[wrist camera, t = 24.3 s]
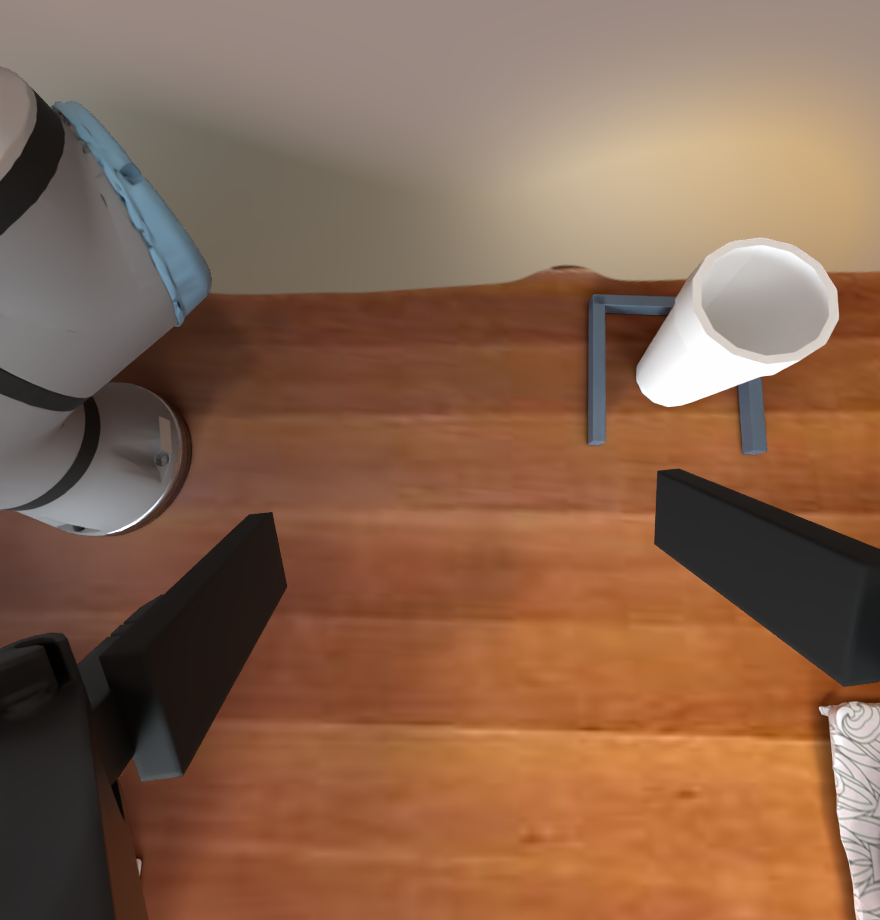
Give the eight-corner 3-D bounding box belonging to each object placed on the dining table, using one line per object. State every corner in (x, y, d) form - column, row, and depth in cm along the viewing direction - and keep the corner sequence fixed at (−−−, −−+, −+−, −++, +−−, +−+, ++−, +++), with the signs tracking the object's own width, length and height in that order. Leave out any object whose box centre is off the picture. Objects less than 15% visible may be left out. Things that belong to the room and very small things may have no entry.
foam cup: (629, 426, 39) (708, 371, 26) (611, 339, 41) (677, 247, 28) (729, 415, 39) (858, 353, 26) (706, 327, 41) (816, 230, 28)
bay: (755, 454, 38) (767, 451, 37) (587, 445, 39) (592, 441, 38) (744, 307, 41) (755, 299, 39) (588, 302, 42) (593, 293, 41)
